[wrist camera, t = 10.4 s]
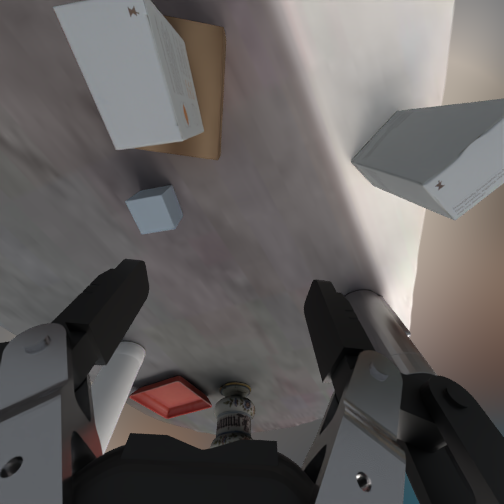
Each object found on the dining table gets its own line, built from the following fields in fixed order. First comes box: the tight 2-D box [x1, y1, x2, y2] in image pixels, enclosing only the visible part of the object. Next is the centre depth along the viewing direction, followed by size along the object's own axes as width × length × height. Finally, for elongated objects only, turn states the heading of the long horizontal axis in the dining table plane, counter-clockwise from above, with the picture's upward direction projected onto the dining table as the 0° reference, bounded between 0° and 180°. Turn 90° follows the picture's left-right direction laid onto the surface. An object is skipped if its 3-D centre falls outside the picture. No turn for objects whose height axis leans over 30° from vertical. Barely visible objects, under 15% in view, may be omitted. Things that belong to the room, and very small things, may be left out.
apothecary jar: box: [210, 382, 255, 448], centre depth 59 cm, size 12×12×18 cm
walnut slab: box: [135, 15, 226, 160], centre depth 25 cm, size 10×12×4 cm
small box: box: [53, 0, 204, 150], centre depth 18 cm, size 8×6×10 cm
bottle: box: [91, 341, 146, 454], centre depth 41 cm, size 8×8×30 cm
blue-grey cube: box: [125, 185, 183, 234], centre depth 31 cm, size 5×5×5 cm
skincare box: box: [351, 99, 504, 220], centre depth 24 cm, size 8×6×15 cm
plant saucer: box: [129, 376, 212, 419], centre depth 65 cm, size 18×18×3 cm
